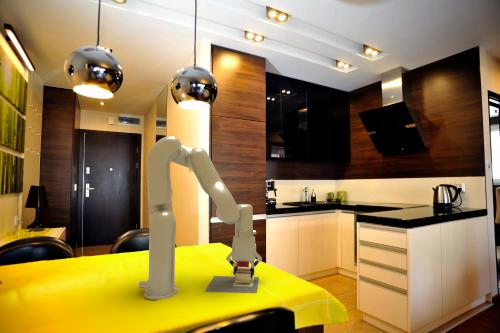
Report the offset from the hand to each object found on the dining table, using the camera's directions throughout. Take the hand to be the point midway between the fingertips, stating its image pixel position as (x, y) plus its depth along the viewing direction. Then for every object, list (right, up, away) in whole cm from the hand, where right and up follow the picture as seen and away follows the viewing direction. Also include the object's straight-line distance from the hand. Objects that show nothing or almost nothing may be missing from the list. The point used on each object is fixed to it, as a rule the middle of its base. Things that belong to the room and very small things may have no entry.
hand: (243, 276), depth 115 cm
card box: (0, -1, 0) cm, 1 cm away
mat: (-4, -2, -3) cm, 6 cm away
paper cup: (-1, -4, +13) cm, 13 cm away
